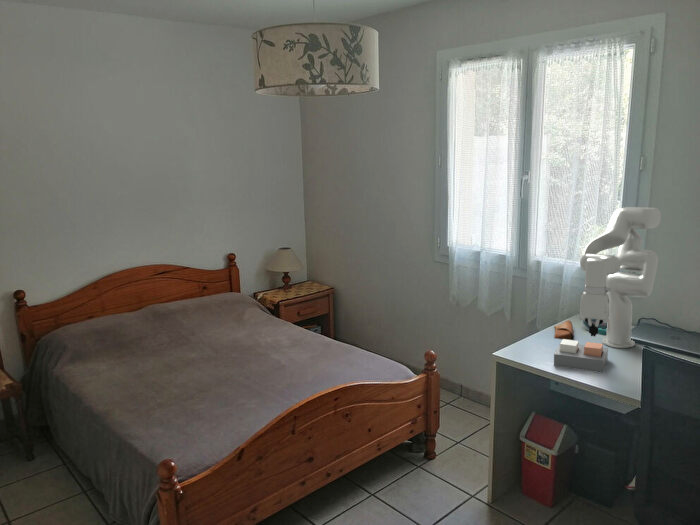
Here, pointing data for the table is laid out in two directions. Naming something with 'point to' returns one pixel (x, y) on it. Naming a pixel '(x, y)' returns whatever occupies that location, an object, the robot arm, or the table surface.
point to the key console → (581, 360)
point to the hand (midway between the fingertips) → (593, 335)
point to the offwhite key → (569, 346)
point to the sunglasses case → (564, 331)
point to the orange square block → (593, 349)
